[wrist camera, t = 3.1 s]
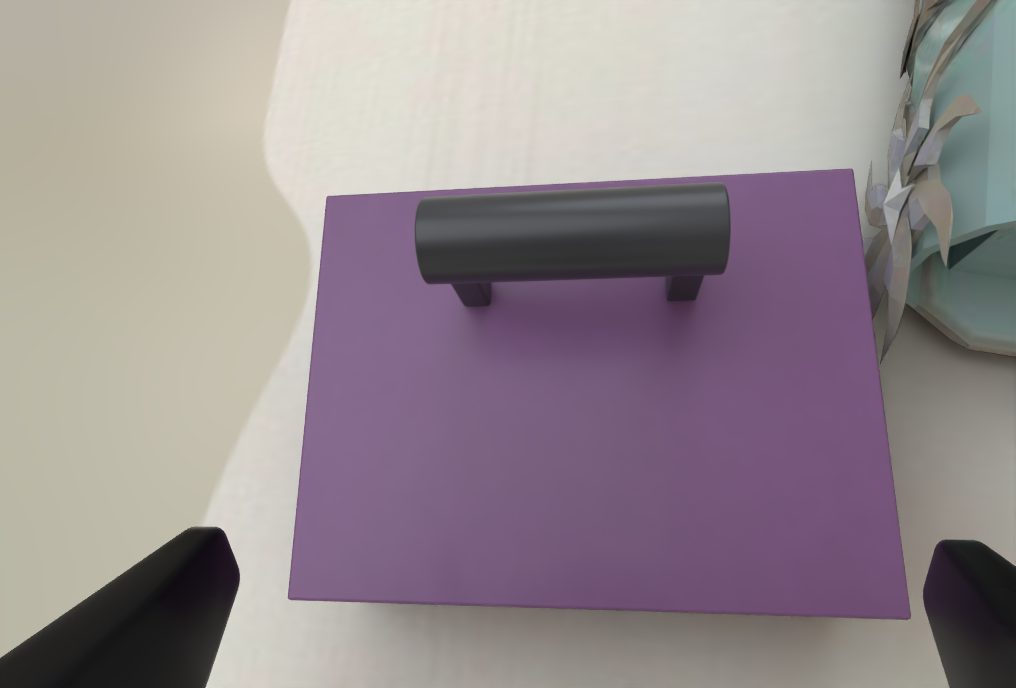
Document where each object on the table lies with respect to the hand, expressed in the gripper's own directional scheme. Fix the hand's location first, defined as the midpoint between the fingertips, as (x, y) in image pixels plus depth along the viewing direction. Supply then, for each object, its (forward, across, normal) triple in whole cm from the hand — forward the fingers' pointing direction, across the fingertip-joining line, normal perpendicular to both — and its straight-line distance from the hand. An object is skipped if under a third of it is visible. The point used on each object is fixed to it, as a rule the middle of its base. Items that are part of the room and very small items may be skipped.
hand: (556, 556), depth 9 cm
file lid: (+8, 0, +3) cm, 9 cm away
